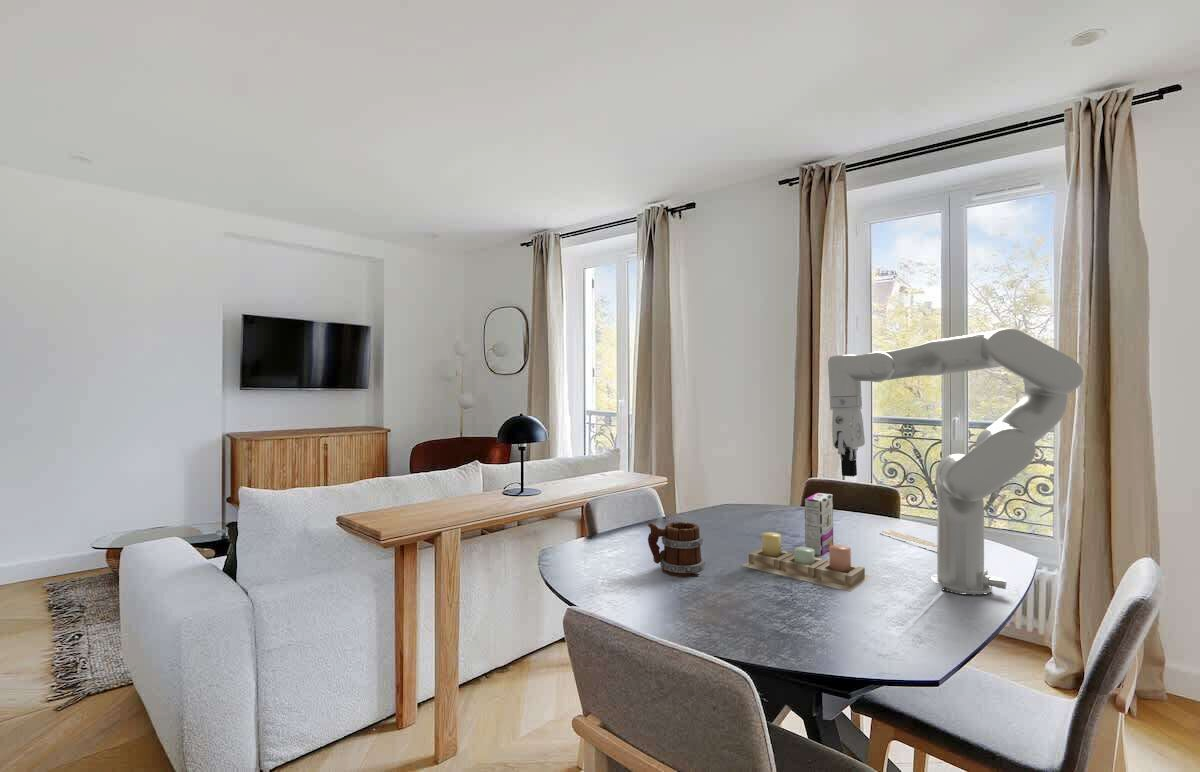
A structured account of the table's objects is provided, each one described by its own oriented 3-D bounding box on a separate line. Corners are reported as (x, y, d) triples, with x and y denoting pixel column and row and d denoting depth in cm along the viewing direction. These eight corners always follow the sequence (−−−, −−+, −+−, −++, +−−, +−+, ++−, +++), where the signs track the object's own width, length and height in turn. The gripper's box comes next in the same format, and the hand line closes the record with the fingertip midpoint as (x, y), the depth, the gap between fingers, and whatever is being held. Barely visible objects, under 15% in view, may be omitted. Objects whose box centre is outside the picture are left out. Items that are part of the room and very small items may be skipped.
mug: (715, 575, 150) (705, 517, 149) (661, 588, 147) (650, 530, 147) (700, 561, 161) (690, 508, 161) (650, 573, 159) (640, 519, 158)
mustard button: (784, 553, 156) (784, 534, 156) (775, 557, 153) (775, 538, 153) (767, 549, 160) (767, 531, 160) (758, 553, 156) (758, 534, 156)
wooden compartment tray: (871, 581, 146) (871, 565, 146) (850, 596, 135) (850, 579, 135) (766, 558, 165) (766, 544, 165) (741, 570, 155) (741, 555, 155)
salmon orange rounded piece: (853, 567, 144) (853, 547, 144) (846, 572, 141) (846, 551, 140) (834, 563, 147) (834, 543, 147) (826, 568, 144) (826, 547, 144)
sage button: (817, 569, 150) (817, 549, 150) (809, 573, 147) (809, 553, 147) (799, 565, 154) (799, 545, 153) (791, 569, 150) (791, 549, 150)
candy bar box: (816, 547, 175) (816, 492, 175) (833, 550, 172) (833, 494, 172) (803, 556, 166) (803, 498, 166) (822, 560, 163) (822, 500, 163)
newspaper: (879, 536, 190) (879, 530, 190) (897, 534, 192) (897, 528, 192) (941, 557, 167) (941, 551, 167) (961, 555, 169) (961, 548, 169)
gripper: (850, 404, 142) (854, 481, 142) (870, 401, 153) (874, 472, 153) (819, 405, 147) (823, 479, 147) (841, 402, 158) (845, 470, 158)
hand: (849, 475), depth 150 cm, fingers closed
